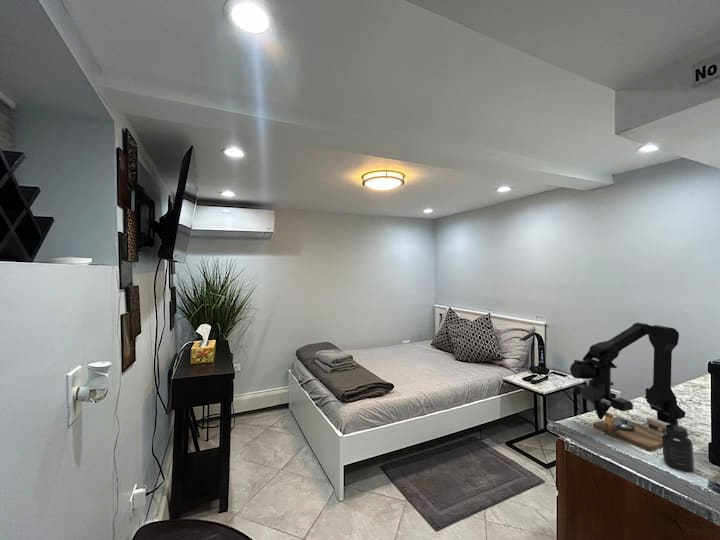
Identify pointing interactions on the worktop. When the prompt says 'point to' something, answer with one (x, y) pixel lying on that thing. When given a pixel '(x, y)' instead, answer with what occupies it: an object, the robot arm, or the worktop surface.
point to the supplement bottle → (677, 448)
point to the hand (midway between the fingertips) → (600, 419)
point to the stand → (639, 433)
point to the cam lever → (617, 423)
